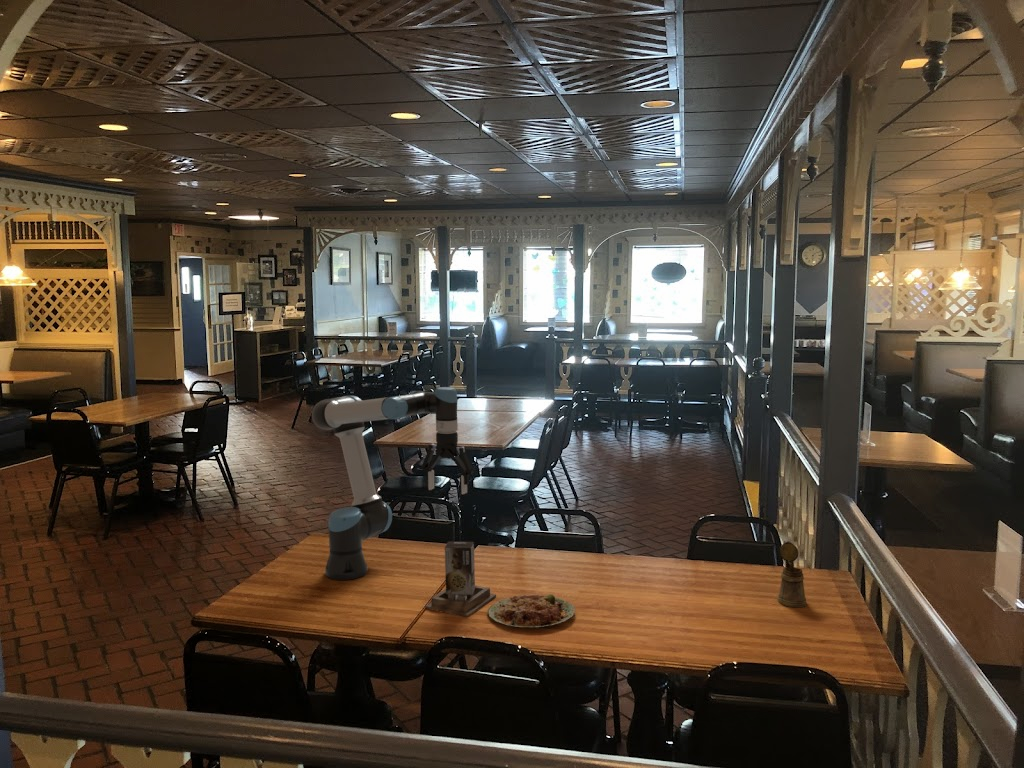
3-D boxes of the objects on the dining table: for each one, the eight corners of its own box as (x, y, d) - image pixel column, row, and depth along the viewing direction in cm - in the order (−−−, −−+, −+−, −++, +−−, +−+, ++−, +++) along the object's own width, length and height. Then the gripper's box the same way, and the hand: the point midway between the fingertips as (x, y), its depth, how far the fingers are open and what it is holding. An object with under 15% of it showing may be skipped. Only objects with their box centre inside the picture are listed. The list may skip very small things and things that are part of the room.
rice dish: (476, 609, 260) (475, 593, 259) (551, 592, 271) (550, 577, 270) (509, 643, 235) (508, 626, 234) (591, 623, 245) (590, 607, 245)
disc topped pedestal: (799, 592, 269) (801, 541, 267) (809, 608, 256) (811, 554, 254) (772, 591, 270) (774, 540, 268) (780, 607, 257) (782, 553, 255)
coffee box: (475, 588, 265) (474, 541, 263) (472, 595, 258) (471, 547, 256) (448, 587, 266) (447, 540, 264) (445, 594, 259) (444, 546, 257)
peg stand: (425, 608, 257) (424, 597, 257) (455, 588, 274) (455, 578, 274) (467, 617, 250) (467, 605, 250) (496, 596, 267) (496, 586, 266)
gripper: (410, 430, 278) (412, 489, 280) (472, 436, 266) (473, 497, 269) (422, 427, 284) (423, 485, 287) (483, 432, 273) (483, 492, 276)
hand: (447, 491), depth 278 cm, fingers open, 13 cm apart
